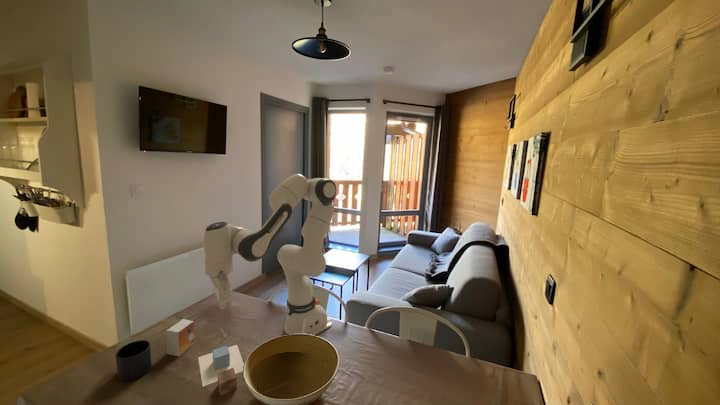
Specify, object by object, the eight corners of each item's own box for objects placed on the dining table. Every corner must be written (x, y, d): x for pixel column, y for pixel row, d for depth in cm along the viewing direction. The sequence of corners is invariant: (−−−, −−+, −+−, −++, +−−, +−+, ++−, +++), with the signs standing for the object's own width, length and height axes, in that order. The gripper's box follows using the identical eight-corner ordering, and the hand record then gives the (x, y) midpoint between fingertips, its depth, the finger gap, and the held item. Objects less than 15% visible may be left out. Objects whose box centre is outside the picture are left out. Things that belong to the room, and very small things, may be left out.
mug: (132, 358, 103) (130, 336, 101) (158, 364, 100) (156, 342, 99) (104, 377, 93) (102, 354, 92) (132, 384, 91) (130, 361, 90)
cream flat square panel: (236, 345, 113) (236, 344, 113) (246, 370, 100) (246, 369, 100) (198, 358, 104) (198, 357, 104) (202, 387, 92) (202, 386, 92)
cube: (227, 356, 106) (227, 345, 105) (229, 365, 102) (229, 353, 101) (213, 361, 103) (212, 350, 102) (215, 370, 99) (214, 358, 98)
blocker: (233, 379, 96) (233, 367, 95) (236, 390, 92) (236, 377, 91) (217, 386, 93) (217, 373, 92) (220, 396, 89) (220, 383, 88)
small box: (179, 357, 104) (177, 332, 103) (167, 354, 105) (165, 330, 104) (195, 343, 112) (194, 320, 110) (184, 341, 113) (182, 318, 111)
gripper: (234, 276, 91) (235, 313, 93) (223, 256, 107) (224, 288, 109) (213, 280, 87) (215, 319, 90) (205, 259, 103) (207, 292, 106)
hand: (220, 302), depth 100 cm, fingers open, 8 cm apart
